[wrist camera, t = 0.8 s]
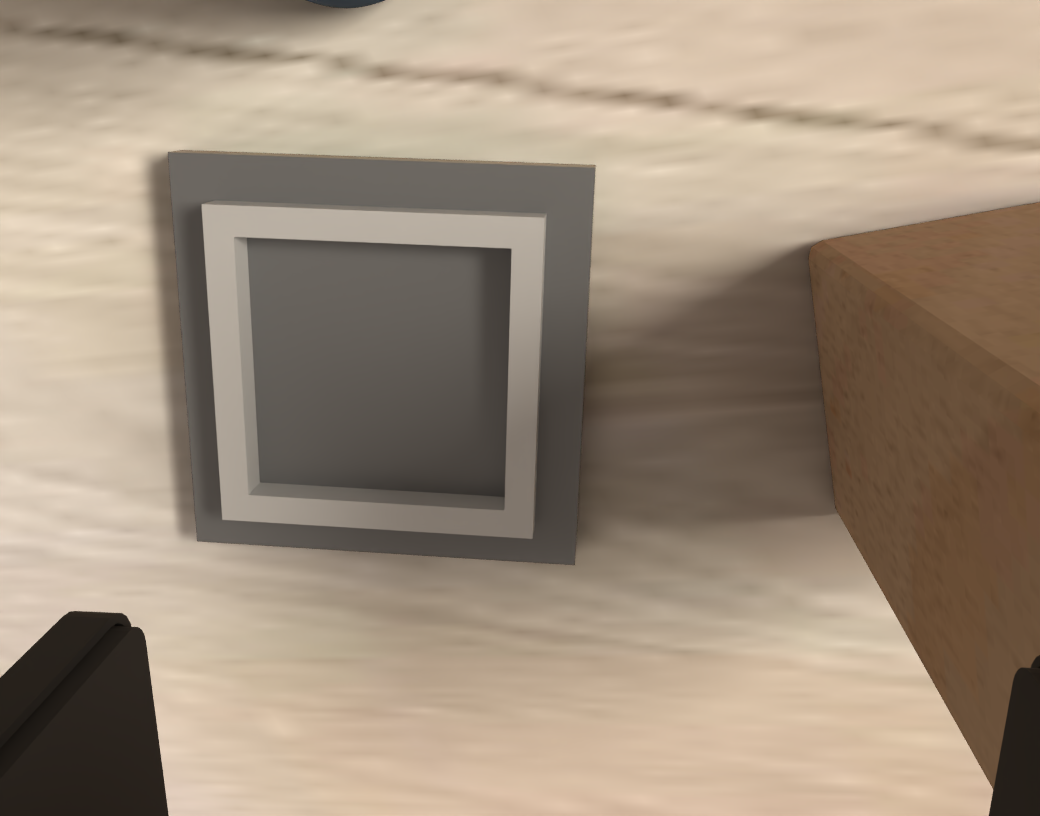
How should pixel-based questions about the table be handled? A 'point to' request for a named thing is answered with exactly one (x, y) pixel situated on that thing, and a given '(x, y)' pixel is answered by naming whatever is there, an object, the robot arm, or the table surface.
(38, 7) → the table surface
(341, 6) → the soda can
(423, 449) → the holder plate
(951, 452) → the wooden block
